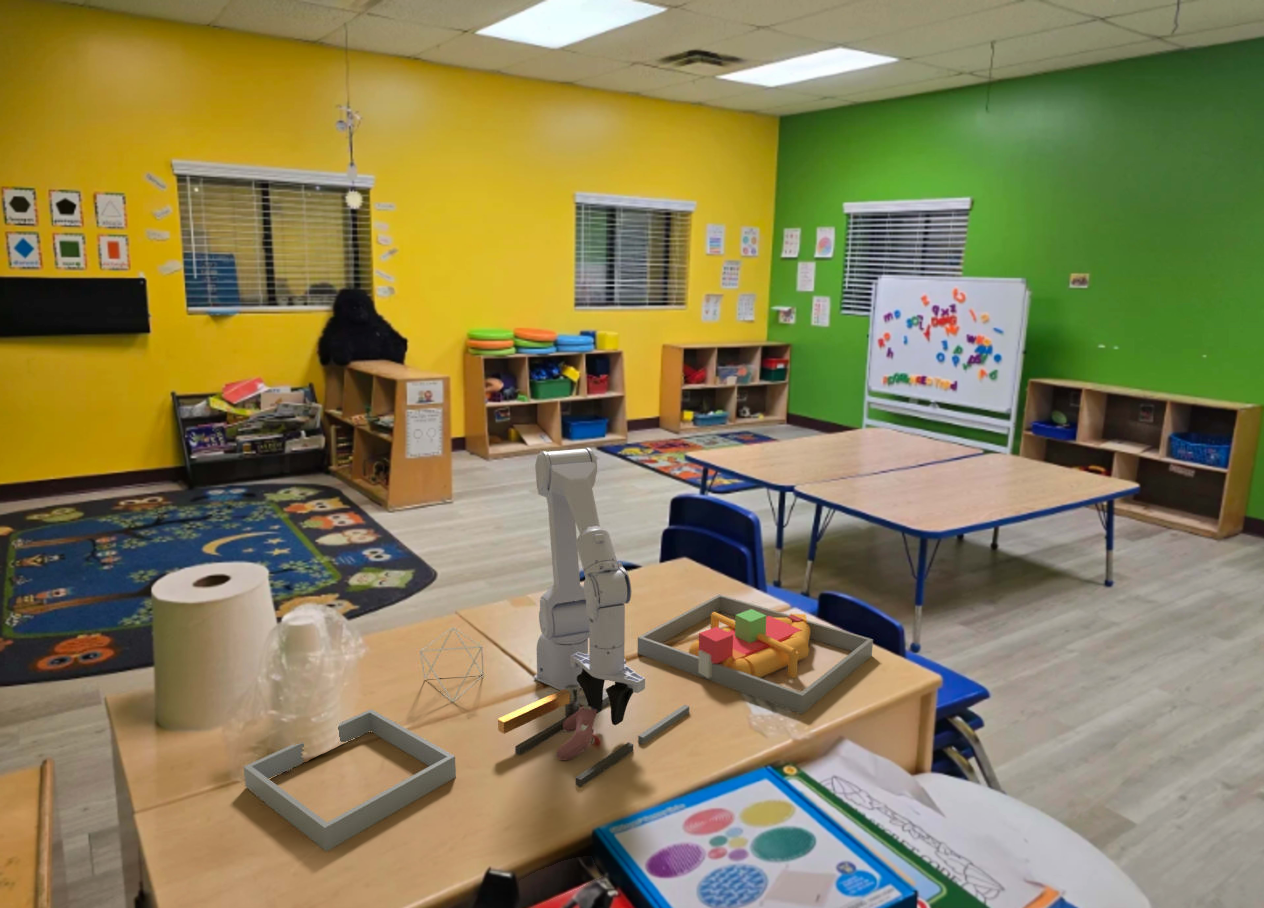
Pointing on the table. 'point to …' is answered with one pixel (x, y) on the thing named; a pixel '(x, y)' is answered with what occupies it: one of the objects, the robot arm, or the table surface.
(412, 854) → the table surface
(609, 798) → the table surface
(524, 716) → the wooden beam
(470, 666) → the geometric polyhedron
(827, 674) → the blocks bin frame
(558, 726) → the dock
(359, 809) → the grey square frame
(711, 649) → the raft
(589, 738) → the pink curved shape
